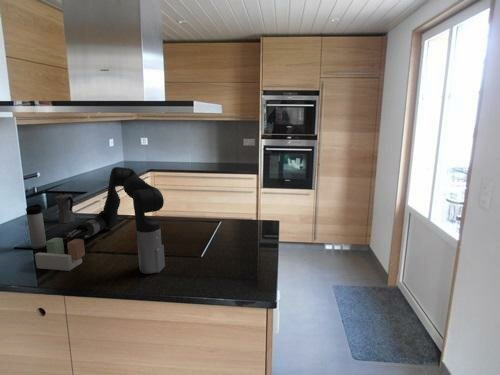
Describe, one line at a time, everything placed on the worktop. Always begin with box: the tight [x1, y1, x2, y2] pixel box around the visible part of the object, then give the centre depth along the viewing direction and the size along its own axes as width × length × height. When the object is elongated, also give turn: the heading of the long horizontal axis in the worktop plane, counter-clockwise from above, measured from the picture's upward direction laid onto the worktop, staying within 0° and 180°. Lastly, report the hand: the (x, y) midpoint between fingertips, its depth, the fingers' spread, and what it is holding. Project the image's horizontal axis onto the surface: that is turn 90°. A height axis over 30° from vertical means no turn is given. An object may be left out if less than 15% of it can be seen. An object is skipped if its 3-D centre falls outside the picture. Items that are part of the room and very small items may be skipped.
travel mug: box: [25, 203, 47, 250], centre depth 161 cm, size 6×7×20 cm
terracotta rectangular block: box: [66, 239, 86, 259], centre depth 145 cm, size 4×5×7 cm
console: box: [34, 252, 83, 272], centre depth 142 cm, size 15×8×6 cm, turn 80°
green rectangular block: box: [45, 237, 65, 254], centre depth 147 cm, size 4×5×7 cm
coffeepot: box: [54, 191, 76, 224], centre depth 199 cm, size 15×9×18 cm, turn 55°
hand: (63, 241), depth 151 cm, fingers closed
